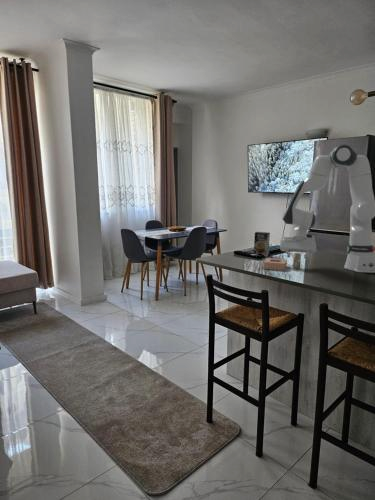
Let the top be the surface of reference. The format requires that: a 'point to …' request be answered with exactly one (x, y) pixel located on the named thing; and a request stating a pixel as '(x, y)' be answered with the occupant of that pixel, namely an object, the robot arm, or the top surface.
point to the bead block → (275, 264)
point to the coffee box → (261, 243)
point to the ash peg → (296, 261)
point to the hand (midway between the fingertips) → (296, 257)
